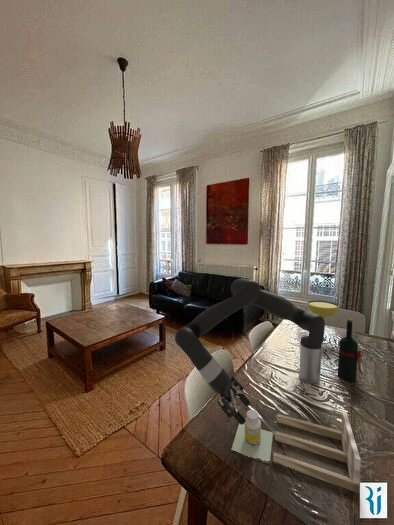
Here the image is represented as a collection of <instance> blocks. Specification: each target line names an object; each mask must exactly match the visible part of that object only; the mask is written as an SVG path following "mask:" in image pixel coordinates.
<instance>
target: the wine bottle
mask: <svg viewBox="0 0 394 525" xmlns="http://www.w3.org/2000/svg"><path fill="white" fill-rule="evenodd" d="M345 333H346V335H345V336H344V337H341V339H339V343H338V344H339V346H338V361H337V377H338V379H340V380H342V381H343V382H347V383H352V382H353V383H356V382H357V374H358V373H357V371H359V373H360V376H362V375H363V372H362V370H361V362H360V358H361V357H362V353H361V352H362V351H361V350H358V349H359V344H358V341H357V340H355V339H354V338H353V337H352V336H353V335H352V334H353V318H349V317H348V318H347V321H346V332H345ZM357 369H358V370H357Z"/></svg>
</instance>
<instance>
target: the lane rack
mask: <svg viewBox="0 0 394 525" xmlns="http://www.w3.org/2000/svg"><path fill="white" fill-rule="evenodd" d="M276 423H279V424H283V425H285V426H286V425H287V426H288V427H289V426H290V427H293V428H296V429H299V430H303V431H306V432H310V433H313V434H317V435H321V436H323V437H328V438H331V439H335V440H338V441H341V446H342V450H339V449H336V448H333V447H330V446H326V445H324V444H320V443H317V442H313V441H310V440H308V439H307V440H306V439H304V438H300V437H297V436H293V435H290V434H287V433H284V432H280V431H278V430H275V437H274V438H275V441H276V442H280V443H282V444H285V445H286V444H287V445H289V446H293V447H295V448H298V449H302V450H304V451H307V452H311V453H314V454H317V455H321V456H323V457H326V458H329V459H332V460H336V461H339V462H342V463H345V464H346V466H347V470H348V474H349V476H345V475H343V474H340V473H337V472H335V471H332V470H331V471H330V470H328V469H325V468H322V467H319V466H316V465H313V464H310V463H308V462H305V461H301V460H299V459H296V458H293V457H290V456H287V455H284V454H281V453H279V452H276V451H273V462H278V463H280V464H282V465H284V466H286V467H285V468H287V467H289V468H288V469H290V468H292V469H291V470H293V469H295V470H294V471H295V472H298V471H299V473H302V474H305V475H307V476H309V477H313V478H314V479H319V480H321V481H324V482H326V483H329V484H333V485H335V486H338V487H340V488H344V489H346V490H348V491H351V492H354V493H357V494H359V492H360V489H359V488H360V478H361V477H360V476H361V463H362V462H361V461H362V460H361V457H360V454H359V449H358V447H357V442H356V441H355V436H354V433H353V431H352V427H351V426H352V425H351V423H350V421H349V416H348V413H347V412H346V411H343V410H342V412H341V422H340V424H341V428H340V430H338V429H335V428H330V427H328V426H327V427H326V426H323V425H320V424H316V423H314V422H310V421H305V420H302V419H300V418H299V419H298V418H294V417H292V416H287V415H284V414H281V413H276ZM282 465H281V466H282ZM284 466H283V467H284Z"/></svg>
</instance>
